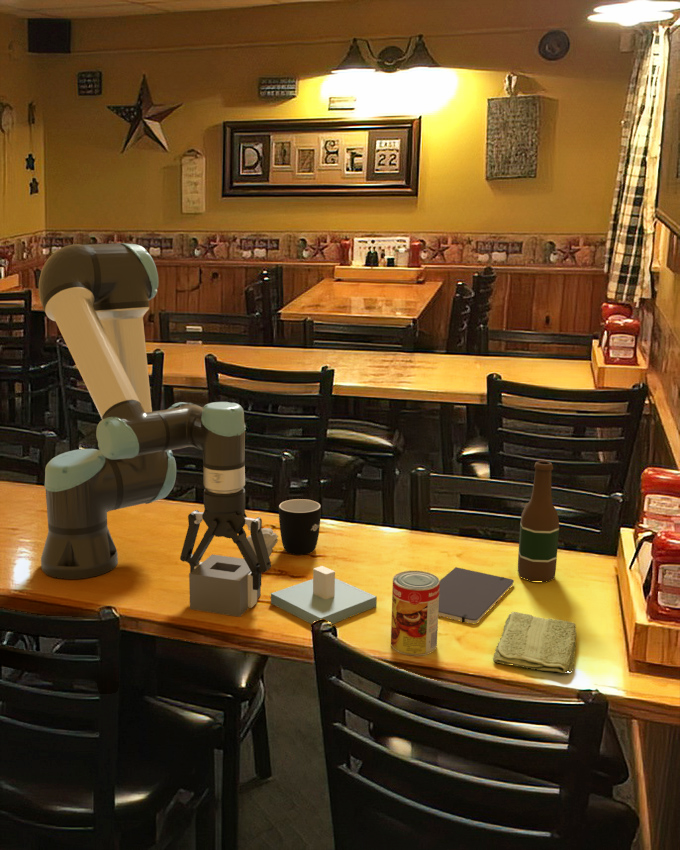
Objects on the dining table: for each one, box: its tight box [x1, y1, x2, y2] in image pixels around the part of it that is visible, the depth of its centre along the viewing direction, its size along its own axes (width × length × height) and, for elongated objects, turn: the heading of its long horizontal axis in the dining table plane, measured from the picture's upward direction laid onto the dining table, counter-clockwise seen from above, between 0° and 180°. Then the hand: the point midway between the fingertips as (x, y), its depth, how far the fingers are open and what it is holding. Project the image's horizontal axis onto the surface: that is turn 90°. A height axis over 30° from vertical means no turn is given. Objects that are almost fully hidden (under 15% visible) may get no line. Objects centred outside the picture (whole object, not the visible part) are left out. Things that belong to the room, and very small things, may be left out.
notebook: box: [438, 566, 515, 624], centre depth 179 cm, size 13×2×21 cm
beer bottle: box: [517, 460, 560, 583], centre depth 186 cm, size 8×8×24 cm
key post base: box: [270, 565, 378, 625], centre depth 173 cm, size 14×14×7 cm
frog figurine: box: [246, 527, 279, 558], centre depth 194 cm, size 6×7×7 cm
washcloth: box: [492, 611, 577, 674], centre depth 158 cm, size 13×18×3 cm
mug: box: [278, 498, 322, 556], centre depth 201 cm, size 12×9×10 cm
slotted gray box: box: [188, 553, 262, 618], centre depth 174 cm, size 10×10×7 cm
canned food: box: [390, 570, 441, 657], centre depth 158 cm, size 8×8×12 cm
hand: (225, 600), depth 174 cm, fingers closed on slotted gray box, 10 cm apart
